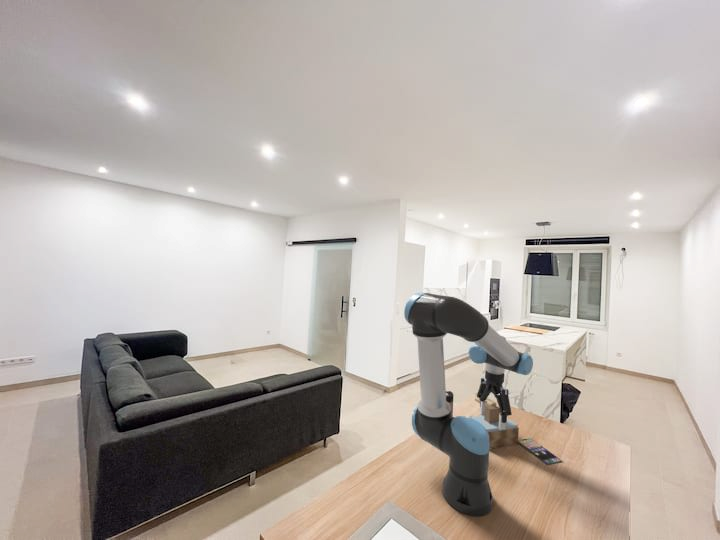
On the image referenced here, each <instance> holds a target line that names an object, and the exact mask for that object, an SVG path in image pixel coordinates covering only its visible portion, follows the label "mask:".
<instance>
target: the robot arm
mask: <svg viewBox="0 0 720 540" xmlns="http://www.w3.org/2000/svg"><path fill="white" fill-rule="evenodd" d="M403 315H404V318H405V321H406V322H407V323H408V324H409V325H411V327H412V335H413V336H414V337H416V338H417V353H418V354H417V355H418V367H419V371H418V372H419V384H420V399H421V400H420V401H418V403H417V405H416V406H415V407H414V409H413V414H412V415H411V426H412V427H411V428H412V429H413V430H412V431H414V433H415V434H416V435H417V436H418V437H419V438H420V439H422V441H424V442H426V443H427V444H429V445H431V446H432V447H434V448H436V449H437V450H439V451H441V452H442V453H443V454H445V455H446V456H448V457H449V459H448V460H449V463H448V464H449V466H448V469H447V472H446V475H445V477H444V478H443V482H442V489H441V490H442V491H441V492H442V496H443V498H444V500H445V501H446V502H447V504H449V506H450V507H452V508H453V509H454V510H456V511H458V512H460V513H462V514H464V515H467V516H473V517H481V516H485V515H487V514H489V513H490V512H491V511H492V508H493V501H494V500H493V494H492V490H491V487H490V482H489V479H488V476H489V473H488V472H489V461H490V457H489V456H490V450H491V449H490V444H489V434H488V431H487V430H486V428H485V427H484V426H483V425H482V424H481V423H479V422H478V421H476V420H474V419H472V418H470V417H466V416H463V415H460V416H459V415H458V416H455V417H454V416H453V417H452V415H451V406H450V404H449V403H448V402H447V401H446V390H447V389H446V374H445V373H446V371H445V355H444V353H445V351H444V338H445V336H446V335H447V334H450V335H453V336H457V337H460V338H462V339H463V340H465V341H466V342H468V343H469V342H470V343H474V344H473V345H471V346H470V347H469V348H468V356H469V359H470V360H471V361H472V362H473V363H475V364H477V365H478V364H479V365H480V364H485V367H484V368H485V370H484V371H485V373H484V377H481V378H480V385H479V388H478V390H477V392H476V393H477V397H479V399H480V403H479V407H480V410H479V411H480V413H479V415H485V406H487V401H485V400H486V399H487V397H488V398H489V395H490V394H492V395H493V396H494V398H495V399H496V403H497V405H498V407H499V408H500V411H501V414H499V430H505V427H506V422H507V418H508V416H512V409H511V403H510V397H509V392H510V391H509V389H508V388H507V389H505V388H504V387H503V383H504V382H505V370H507V371H510V372H513V373H515V374H520V375H523V376H528V375H529V374H530V373H531V372H532V370H533V367H534V360H533V357H532V356H531V355H530V354H527V353H525V352H520V351H518V350H517V349H516V348H515V347H514V346H512V344H510V343H509V342H508V341H507V339H506V338H507V337H505V336H503V335H500V334H499V333H498V332H497V331H496V330H495V329H494V328H493V326H490V324H489V320H488V319H487V317H486V316H485V315H483V314H482V313H481V312H480V311H478V309H476V308H475V307H473V306H472V305H470V304H469V303H468V302H466V301H464V300H462V299H460V298H459V297H458V298H457V297H454V296H450V295H448V296H447V295H442V294H441V295H439V294H435V293H434V294H433V293H429V292H417V293H415V294H413V295H412V296H410V297H409V299H408V300H407V302H406V303H405V306H404V313H403Z"/></svg>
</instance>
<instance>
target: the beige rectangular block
mask: <svg viewBox="0 0 720 540" xmlns="http://www.w3.org/2000/svg"><path fill="white" fill-rule="evenodd" d="M477 393H478V392H476V393H474V401H475V402H477V403H478V404H480V399H479V397H477ZM485 401H487V406H490V405H495V406H497V401H494V400H492V399H491V398H489V396H488V397H487V399H486V400H485Z"/></svg>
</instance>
